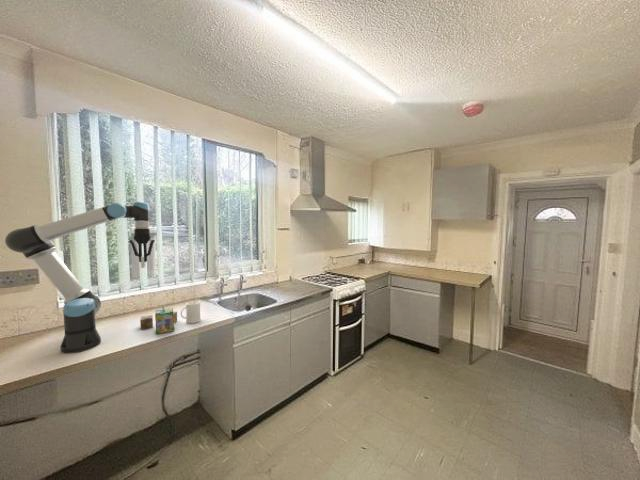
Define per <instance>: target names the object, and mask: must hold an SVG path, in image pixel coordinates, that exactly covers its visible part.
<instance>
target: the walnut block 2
mask: <svg viewBox="0 0 640 480" xmlns="http://www.w3.org/2000/svg"><path fill="white" fill-rule="evenodd" d="M173 316H174V324H175V323H176V322H178V312H177V311H173Z"/></svg>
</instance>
